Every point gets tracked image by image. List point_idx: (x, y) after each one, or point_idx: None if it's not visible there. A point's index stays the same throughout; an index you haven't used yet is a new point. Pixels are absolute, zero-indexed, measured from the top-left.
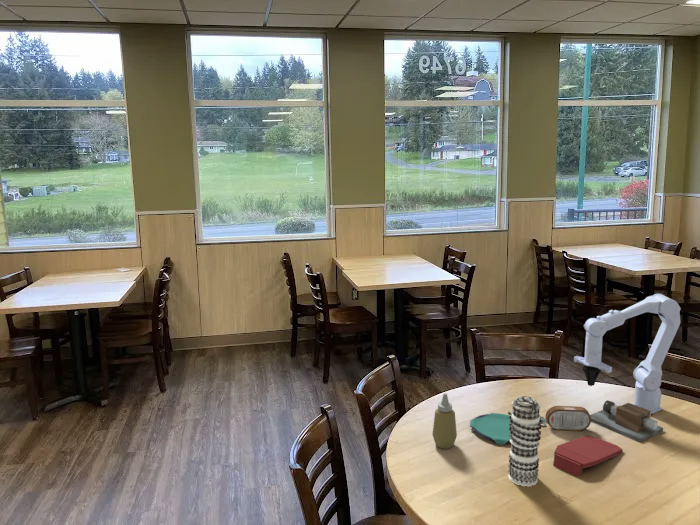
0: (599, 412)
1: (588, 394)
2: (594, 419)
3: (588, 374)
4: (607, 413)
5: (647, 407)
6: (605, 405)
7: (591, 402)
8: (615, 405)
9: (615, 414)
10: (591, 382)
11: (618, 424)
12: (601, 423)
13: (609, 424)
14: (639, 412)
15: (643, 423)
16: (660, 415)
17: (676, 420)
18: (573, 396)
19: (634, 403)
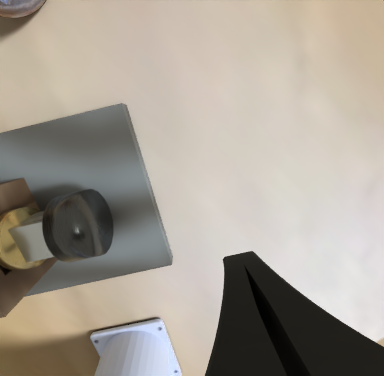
0: (140, 191)
1: (308, 276)
2: (80, 114)
3: (296, 355)
4: (121, 216)
5: (99, 361)
6: (65, 203)
7: (251, 241)
8: (49, 251)
9: (28, 207)
10: (224, 282)
11: (8, 181)
12: (44, 122)
13: (16, 144)
14: None
15: None
16: (87, 358)
17: (46, 372)
18: (328, 216)
19: (147, 348)
